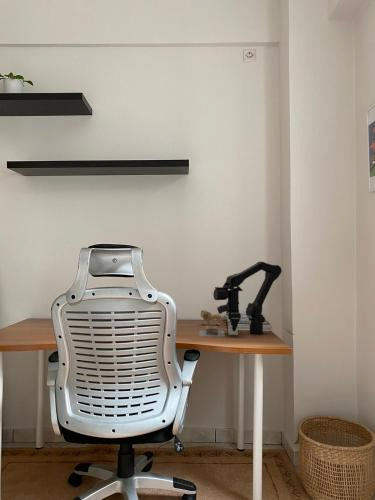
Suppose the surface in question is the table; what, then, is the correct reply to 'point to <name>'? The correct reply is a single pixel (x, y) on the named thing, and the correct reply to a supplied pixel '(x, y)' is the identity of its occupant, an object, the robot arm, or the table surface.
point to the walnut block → (212, 330)
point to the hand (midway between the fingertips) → (233, 329)
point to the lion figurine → (211, 317)
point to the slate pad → (220, 333)
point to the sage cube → (232, 330)
